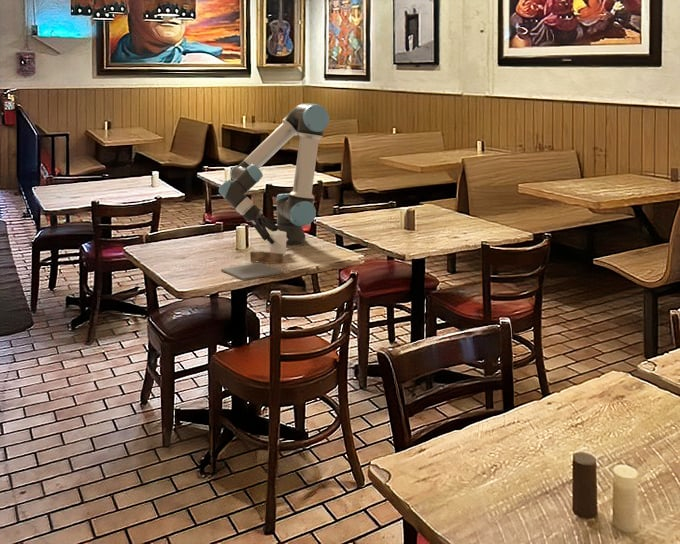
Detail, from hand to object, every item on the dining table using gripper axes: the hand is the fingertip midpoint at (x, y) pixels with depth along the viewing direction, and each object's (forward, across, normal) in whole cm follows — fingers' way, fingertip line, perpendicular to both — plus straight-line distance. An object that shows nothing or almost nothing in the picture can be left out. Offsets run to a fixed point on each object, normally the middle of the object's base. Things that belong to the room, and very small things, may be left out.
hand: (283, 244), depth 329 cm
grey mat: (-1, +30, -7) cm, 31 cm away
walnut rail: (0, +13, -6) cm, 14 cm away
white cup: (+2, 0, -5) cm, 5 cm away
